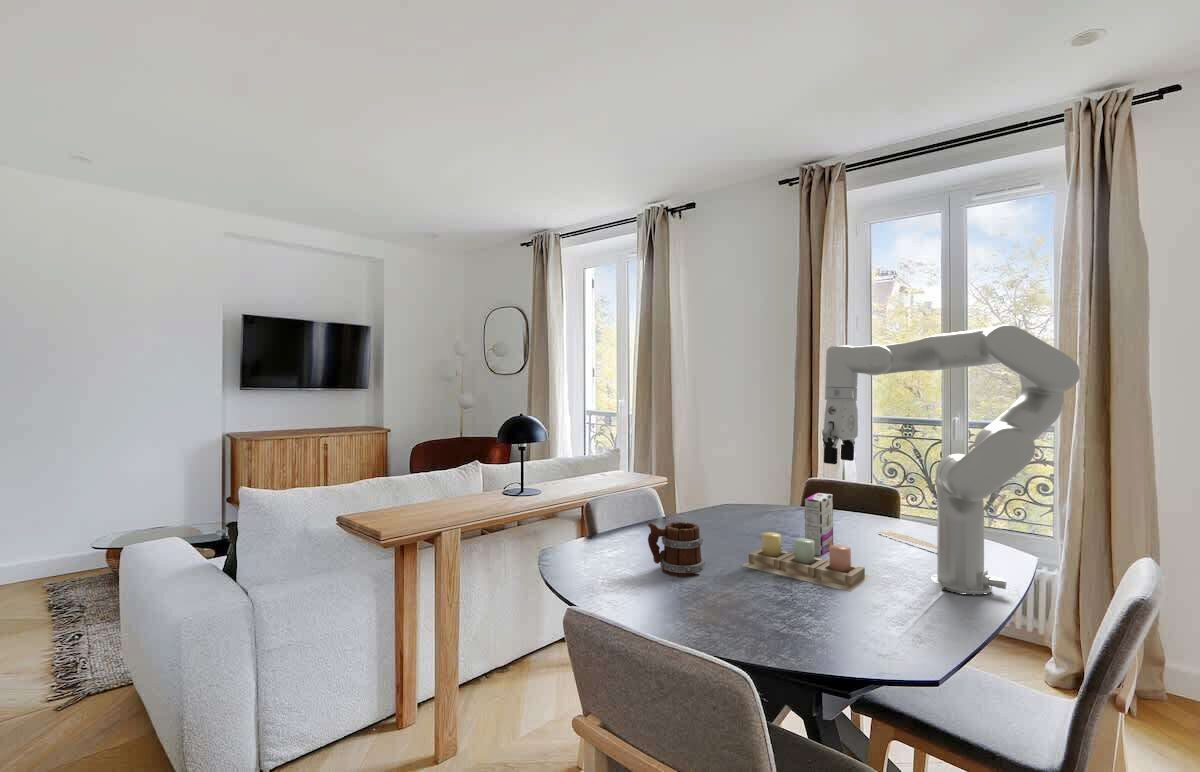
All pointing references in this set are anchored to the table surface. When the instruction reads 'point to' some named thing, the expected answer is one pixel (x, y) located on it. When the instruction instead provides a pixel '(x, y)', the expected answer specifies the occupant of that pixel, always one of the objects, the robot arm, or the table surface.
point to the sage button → (804, 550)
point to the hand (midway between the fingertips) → (838, 461)
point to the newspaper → (907, 538)
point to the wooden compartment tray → (807, 570)
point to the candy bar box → (819, 521)
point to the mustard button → (771, 544)
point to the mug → (677, 548)
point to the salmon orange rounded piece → (840, 557)
